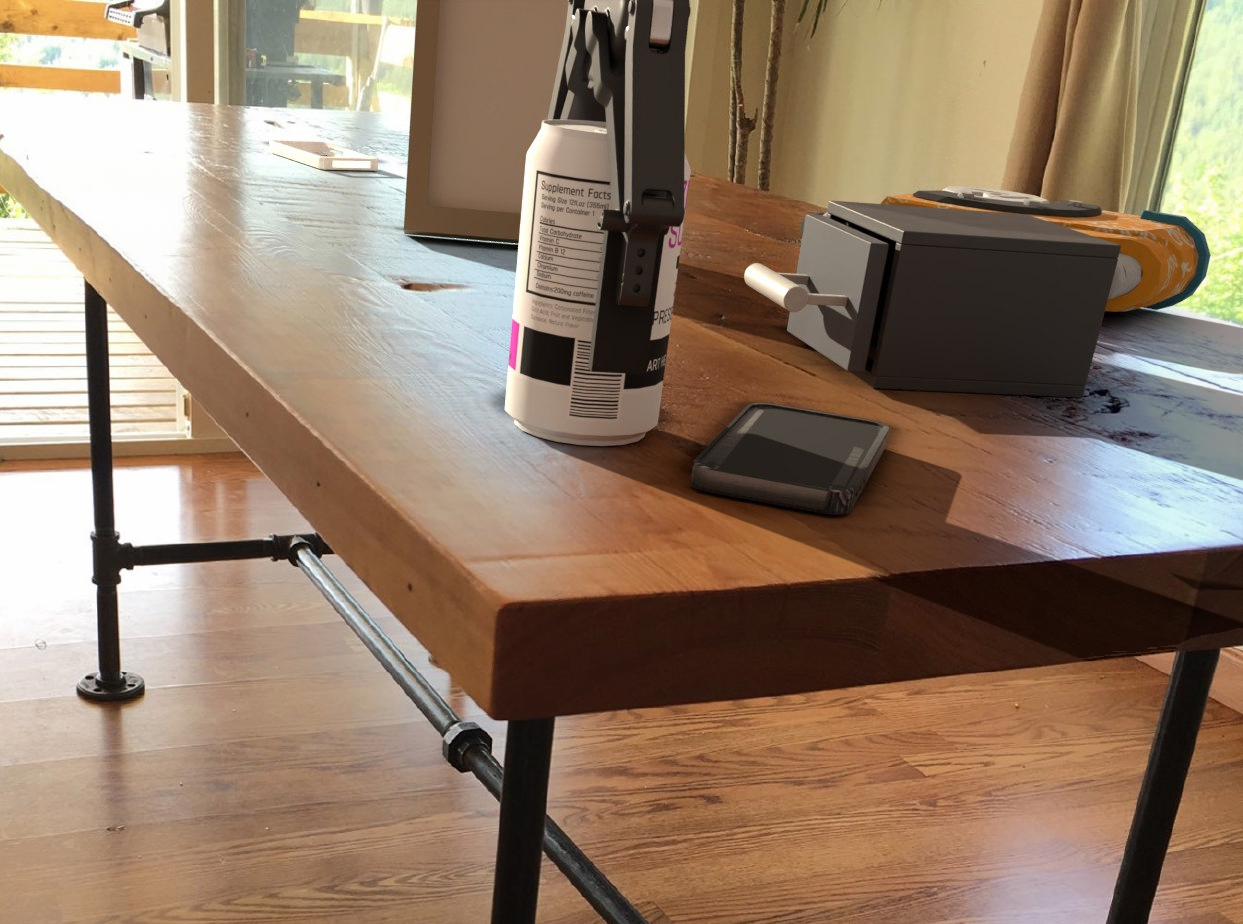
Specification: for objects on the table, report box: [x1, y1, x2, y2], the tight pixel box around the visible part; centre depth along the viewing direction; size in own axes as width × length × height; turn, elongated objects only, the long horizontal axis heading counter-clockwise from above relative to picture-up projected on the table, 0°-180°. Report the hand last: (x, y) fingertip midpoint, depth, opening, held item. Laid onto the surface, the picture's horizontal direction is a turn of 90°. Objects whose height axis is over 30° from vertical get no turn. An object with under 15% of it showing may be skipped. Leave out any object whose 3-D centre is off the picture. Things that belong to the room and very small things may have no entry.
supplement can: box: [504, 119, 692, 447], centre depth 78 cm, size 8×8×15 cm
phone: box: [689, 402, 890, 516], centre depth 78 cm, size 8×1×15 cm
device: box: [799, 185, 1211, 312], centre depth 130 cm, size 23×8×30 cm
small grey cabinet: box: [804, 200, 1121, 399], centre depth 101 cm, size 15×13×10 cm
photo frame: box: [403, 0, 569, 245], centre depth 133 cm, size 15×22×25 cm
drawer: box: [743, 213, 898, 372], centre depth 100 cm, size 18×11×8 cm, turn 100°
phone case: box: [269, 139, 379, 172], centre depth 177 cm, size 7×1×15 cm
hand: (585, 339), depth 79 cm, fingers open, 13 cm apart
